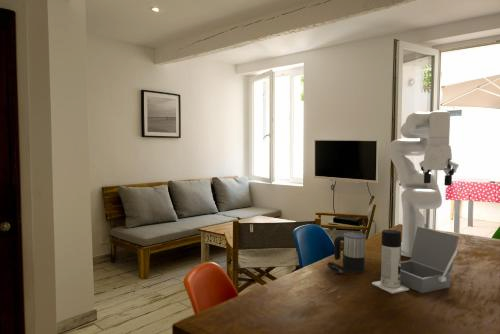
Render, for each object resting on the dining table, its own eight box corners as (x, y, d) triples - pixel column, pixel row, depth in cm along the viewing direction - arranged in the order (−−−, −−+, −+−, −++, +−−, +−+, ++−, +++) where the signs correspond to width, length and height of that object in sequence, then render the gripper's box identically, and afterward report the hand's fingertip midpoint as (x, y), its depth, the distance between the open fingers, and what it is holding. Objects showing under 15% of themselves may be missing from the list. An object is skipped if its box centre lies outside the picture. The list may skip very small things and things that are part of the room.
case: (384, 276, 148) (385, 230, 147) (417, 270, 156) (418, 226, 155) (425, 294, 131) (427, 241, 130) (460, 286, 138) (462, 236, 137)
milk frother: (367, 268, 159) (368, 233, 158) (360, 279, 145) (361, 242, 144) (333, 263, 165) (334, 230, 165) (324, 274, 151) (325, 237, 150)
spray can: (401, 289, 134) (403, 233, 133) (381, 287, 135) (383, 232, 134) (398, 282, 140) (399, 229, 139) (379, 281, 142) (380, 228, 141)
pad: (371, 284, 141) (371, 282, 141) (388, 280, 144) (388, 279, 144) (392, 293, 132) (392, 291, 132) (408, 290, 135) (408, 288, 135)
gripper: (414, 142, 158) (413, 182, 159) (451, 141, 142) (450, 186, 143) (427, 142, 161) (425, 182, 162) (465, 141, 145) (463, 186, 146)
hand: (437, 184), depth 152 cm, fingers open, 9 cm apart
